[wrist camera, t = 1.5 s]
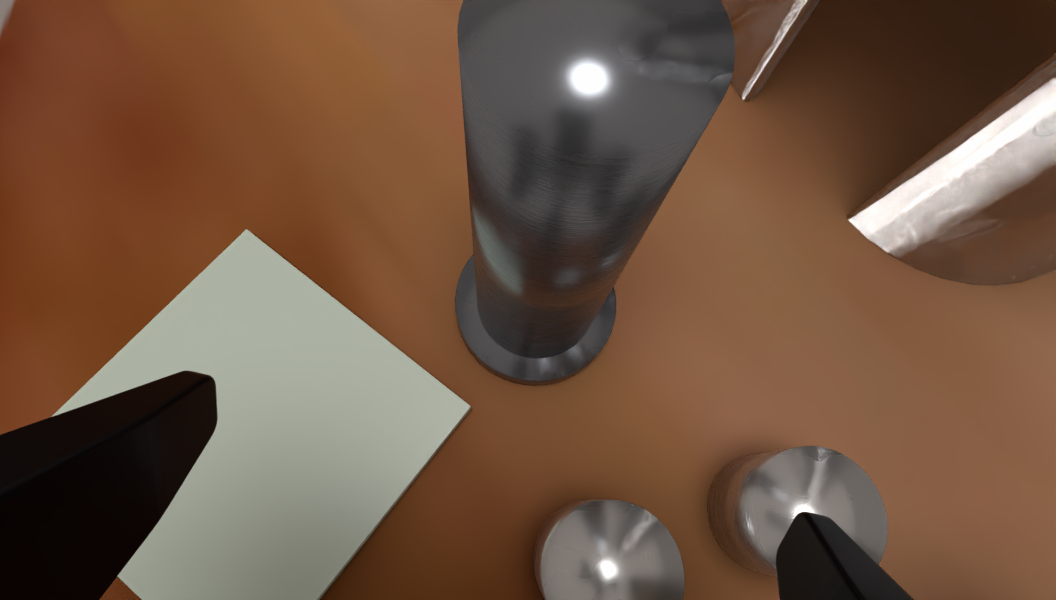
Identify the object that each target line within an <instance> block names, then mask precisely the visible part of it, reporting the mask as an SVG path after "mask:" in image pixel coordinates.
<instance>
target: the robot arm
mask: <svg viewBox="0 0 1056 600" xmlns="http://www.w3.org/2000/svg"><path fill="white" fill-rule="evenodd" d="M217 420H218V414H217V395H216V383H215V380H214V378H213V377H212V376H210V375H207V374H203V373H198V372H194V371H187V370H186V371H181V372H178V373H175V374H172V375H169V376H167V377H164V378H161V379H158V380H155V381H152V382H150V383H147V384H144V385H141V386H138V387H135V388H132V389H130V390H127V391H124V392H121V393H118V394H115V395H113V396H110V397H107V398H104V399H101V400H98V401H95V402H93V403H90V404H87V405H84V406H81V407H78V408H75V409H73V410H70V411H67V412H64V413H61V414H58V415H56V416H53V417H50V418H47V419H44V420H41V421H38V422H36V423H33V424H30V425H27V426H24V427H21V428H18V429H16V430H13V431H10V432H7V433H4V434H1V435H0V600H99V599H100V598H101V597H102V595H103V594H104V593H105V592H106V590H107V589H108V588H109V586H110V585H111V584H112V582H113V581H114V580H115V579H116V577H117V576H118V575H119V573H120V572H121V571H122V569H123V568H124V567H125V565H126V564H127V563H128V562H129V560H130V559H131V558H132V556H133V555H134V554H135V552H136V551H137V550H138V549H139V547H140V546H141V545H142V543H143V542H144V541H145V539H146V538H147V537H148V536H149V534H150V533H151V531H152V530H153V529H154V527H155V526H156V525H157V523H158V522H159V520H160V519H161V517H162V516H163V514H164V513H165V511H166V510H167V508H168V507H169V505H170V503H171V502H172V500H173V499H174V497H175V495H176V494H177V492H178V490H179V489H180V487H181V486H182V484H183V482H184V481H185V479H186V477H187V476H188V474H189V473H190V471H191V469H192V468H193V466H194V464H195V463H196V461H197V460H198V458H199V456H200V455H201V453H202V451H203V450H204V448H205V447H206V445H207V443H208V442H209V440H210V438H211V437H212V435H213V433H214V431H215V429H216V425H217ZM776 570H777V579H778V587H779V596H780V600H914V599H913V598H912V597H911V596H910V595H909V594H908V593H907V592H906V591H905V590H904V589H902V588H901V587H900V586H899V585H898V584H897V583H896V582H895V581H894V580H893V579H892V578H891V577H890V576H889V575H888V574H887V573H886V572H885V571H884V570H883V569H882V568H881V567H880V566H879V565H878V564H877V563H876V562H875V561H874V560H873V559H872V558H871V557H870V556H869V555H868V554H867V553H866V552H865V551H864V550H863V549H862V548H861V547H860V546H859V545H858V544H857V543H856V542H854V541H853V540H852V539H851V538H850V537H849V536H848V535H847V534H846V533H845V532H844V531H843V530H842V529H841V528H840V527H839V526H838V525H837V524H836V523H835V522H834V521H833V520H832V519H831V518H829V517H827V516H824V515H819V514H815V513H811V512H806V511H804V512H800V513H798V514H797V515H796V516H795V518H794V520H793V521H792V523H791V525H790V527H789V529H788V530H787V532H786V534H785V536H784V538H783V539H782V541H781V543H780V545H779V547H778V550H777V553H776Z"/></svg>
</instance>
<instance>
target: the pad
mask: <svg viewBox="0 0 1056 600" xmlns="http://www.w3.org/2000/svg"><path fill="white" fill-rule="evenodd" d="M186 370H187V371H194V372H198V373H203V374H207V375H210V376H212V377H213V378H214V380H215V383H216V395H217V414H218V420H217V425H216V429H215V431H214V433H213V435H212V437H211V438H210V440H209V442H208V443H207V445H206V447H205V448H204V450H203V451H202V453H201V455H200V456H199V458H198V460H197V461H196V463H195V464H194V466H193V468H192V469H191V471H190V473H189V474H188V476H187V477H186V479H185V481H184V482H183V484H182V486H181V487H180V489H179V490H178V492H177V494H176V495H175V497H174V499H173V500H172V502H171V503H170V505H169V507H168V508H167V510H166V511H165V513H164V514H163V516H162V517H161V519H160V520H159V522H158V523H157V525H156V526H155V527H154V529H153V530H152V531H151V533H150V534H149V536H148V537H147V538H146V539H145V541H144V542H143V543H142V545H141V546H140V547H139V549H138V550H137V551H136V552H135V554H134V555H133V556H132V558H131V559H130V560H129V562H128V563H127V564H126V565H125V567H124V568H123V569H122V571H121V572H120V573H119V575H118V576H117V577H119V578H120V579H121V580H122V581H123V582H124V583H125V584H126V585H127V586H128V587H129V588H130V589H131V590H132V591H133V592H134V593H135V594H136V595H138V596H139V597H140V598H141V599H142V600H320V599H321V597H322V596H323V595H324V594H325V592H326V591H327V590H328V589H329V587H330V586H331V585H332V584H333V582H334V581H335V580H336V578H337V577H338V576H339V575H340V573H341V572H342V571H343V570H344V568H345V567H346V566H347V565H348V563H349V562H350V561H351V560H352V558H353V557H354V556H355V555H356V553H357V552H358V551H359V550H360V548H361V547H362V546H363V544H364V543H365V542H366V541H367V539H368V538H369V537H370V536H371V534H372V533H373V532H374V531H375V529H376V528H377V527H378V526H379V524H380V523H381V522H382V521H383V519H384V518H385V517H386V516H387V514H388V513H389V512H390V510H391V509H392V508H393V507H394V505H395V504H396V503H397V502H398V500H399V499H400V498H401V497H402V495H403V494H404V493H405V492H406V490H407V489H408V488H409V487H410V485H411V484H412V483H413V482H414V480H415V479H416V478H417V476H418V475H419V474H420V473H421V471H422V470H423V469H424V468H425V466H426V465H427V464H428V463H429V461H430V460H431V459H432V458H433V456H434V455H435V454H436V453H437V451H438V450H439V449H440V448H441V446H442V445H443V444H444V442H445V441H446V440H447V439H448V437H449V436H450V435H451V434H452V432H453V431H454V430H455V429H456V427H457V426H458V425H459V424H460V422H461V421H462V420H463V419H464V417H465V416H466V415H467V414H468V412H469V411H470V410H471V406H470V405H468V404H467V403H466V402H465V401H463V400H462V399H461V398H459V397H458V396H457V395H456V394H454V393H453V392H452V391H451V390H449V389H448V388H447V387H446V386H444V385H443V384H442V383H440V382H439V381H438V380H437V379H435V378H434V377H433V376H432V375H430V374H429V373H428V372H427V371H425V370H424V369H423V368H422V367H420V366H419V365H418V364H416V363H415V362H414V361H413V360H411V359H410V358H409V357H408V356H406V355H405V354H404V353H403V352H401V351H400V350H399V349H397V348H396V347H395V346H394V345H392V344H391V343H390V342H389V341H387V340H386V339H385V338H384V337H382V336H381V335H380V334H378V333H377V332H376V331H375V330H373V329H372V328H371V327H370V326H368V325H367V324H366V323H365V322H363V321H362V320H361V319H360V318H358V317H357V316H356V315H354V314H353V313H352V312H351V311H349V310H348V309H347V308H346V307H344V306H343V305H342V304H341V303H339V302H338V301H337V300H335V299H334V298H333V297H332V296H330V295H329V294H328V293H327V292H325V291H324V290H323V289H322V288H320V287H319V286H318V285H316V284H315V283H314V282H313V281H311V280H310V279H309V278H308V277H306V276H305V275H304V274H303V273H301V272H300V271H299V270H298V269H296V268H295V267H294V266H292V265H291V264H290V263H289V262H287V261H286V260H285V259H284V258H282V257H281V256H280V255H279V254H277V253H276V252H275V251H273V250H272V249H271V248H270V247H268V246H267V245H266V244H265V243H263V242H262V241H261V240H260V239H258V238H257V237H256V236H254V235H253V234H252V233H251V232H249V231H248V230H247V229H246V230H245V231H244V232H243V233H242V234H241V235H240V236H239V237H238V238H237V239H236V240H235V241H234V242H233V243H232V244H231V245H230V246H229V247H228V248H226V249H225V250H224V251H223V252H222V253H221V254H220V255H219V256H218V257H217V258H216V259H215V260H214V261H213V262H212V263H211V264H210V265H209V266H208V267H207V268H206V269H205V270H204V271H203V272H202V273H200V274H199V275H198V276H197V277H196V278H195V279H194V280H193V281H192V282H191V283H190V284H189V285H188V286H187V287H186V288H185V289H184V290H183V291H182V292H181V293H180V294H179V295H178V296H177V297H176V298H174V299H173V300H172V301H171V302H170V303H169V304H168V305H167V306H166V307H165V308H164V309H163V310H162V311H161V312H160V313H159V314H158V315H157V316H156V317H155V318H154V319H153V320H152V321H151V322H150V323H148V324H147V325H146V326H145V327H144V328H143V329H142V330H141V331H140V332H139V333H138V334H137V335H136V336H135V337H134V338H133V339H132V340H131V341H130V342H129V343H128V344H127V345H126V346H125V347H124V348H123V349H121V350H120V351H119V352H118V353H117V354H116V355H115V356H114V357H113V358H112V359H111V360H110V361H109V362H108V363H107V364H106V365H105V366H104V367H103V368H102V369H101V370H100V371H99V372H98V373H97V374H95V375H94V376H93V377H92V378H91V379H90V380H89V381H88V382H87V383H86V384H85V385H84V386H83V387H82V388H81V389H80V390H79V391H78V392H77V393H76V394H75V395H74V396H73V397H72V398H71V399H69V400H68V401H67V402H66V403H65V404H64V405H63V406H62V407H61V408H60V409H59V410H58V411H57V412H56V413H55V414H54V415H53V416H56V415H58V414H61V413H64V412H67V411H70V410H73V409H75V408H78V407H81V406H84V405H87V404H90V403H93V402H95V401H98V400H101V399H104V398H107V397H110V396H113V395H115V394H118V393H121V392H124V391H127V390H130V389H132V388H135V387H138V386H141V385H144V384H147V383H150V382H152V381H155V380H158V379H161V378H164V377H167V376H169V375H172V374H175V373H178V372H181V371H186ZM53 416H52V417H53Z"/></svg>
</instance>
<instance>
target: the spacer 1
mask: <svg viewBox="0 0 1056 600" xmlns="http://www.w3.org/2000/svg"><path fill="white" fill-rule="evenodd" d="M533 565H534V573H535V578H536V581H537V584H538V587H539V589H540V591H541V594H542V595H543V597H544V599H545V600H682V599H683V594H684V569H683V563H682V559H681V555H680V552H679V550H678V547H677V545H676V543H675V541H674V539H673V537H672V536H671V534H670V533H669V531H668V530H667V528H666V527H665V526H664V525H663V524H662V523H661V521H660V520H658V519H657V518H656V517H655V516H654V515H653V514H651V513H650V512H648V511H647V510H645V509H643V508H641V507H639V506H637V505H635V504H632V503H629V502H625V501H620V500H601V499H584V500H578V501H574V502H571V503H569V504H567V505H565V506H563V507H561V508H560V509H558V510H557V511H556V512H554V513H553V514H552V515H551V516H550V517H549V518H548V520H547V521H546V522H545V524H544V525H543V527H542V529H541V530H540V533H539V535H538V537H537V540H536V544H535V548H534V557H533Z"/></svg>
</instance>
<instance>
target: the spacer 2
mask: <svg viewBox="0 0 1056 600" xmlns="http://www.w3.org/2000/svg"><path fill="white" fill-rule="evenodd" d="M804 511H806V512H811V513H815V514H819V515H824V516H827V517H829V518H831V519H832V520H833V521H834V522H835V523H836V524H837V525H838V526H839V527H840V528H841V529H842V530H843V531H844V532H845V533H846V534H847V535H848V536H849V537H850V538H851V539H852V540H853V541H854V542H856V543H857V544H858V545H859V546H860V547H861V548H862V549H863V550H864V551H865V552H866V553H867V554H868V555H869V556H870V557H871V558H872V559H873V560H874V561H875V562H876V563H877V564H879V562H880V561H881V559H882V556H883V554H884V551H885V547H886V543H887V535H888V524H887V515H886V511H885V507H884V504H883V501H882V498H881V496H880V494H879V492H878V490H877V488H876V486H875V485H874V483H873V482H872V480H871V479H870V477H869V476H868V475H867V474H866V472H865V471H864V470H863V469H862V468H861V467H860V466H859V465H857V464H856V463H855V462H854V461H852V460H851V459H849V458H848V457H846V456H845V455H843V454H841V453H839V452H837V451H834V450H831V449H828V448H824V447H819V446H803V447H796V448H790V449H784V450H777V451H771V452H765V453H759V454H752V455H747V456H742V457H739V458H737V459H734V460H733V461H731V462H729V463H728V464H727V465H725V466H724V467H723V468H722V469H721V470H720V471H719V473H718V474H717V475H716V477H715V479H714V480H713V482H712V485H711V487H710V490H709V495H708V502H707V513H708V519H709V523H710V527H711V530H712V532H713V535H714V537H715V539H716V541H717V542H718V544H719V545H720V547H721V548H722V550H723V551H724V552H725V553H726V554H727V555H728V556H729V557H730V558H731V559H732V560H734V561H735V562H736V563H738V564H739V565H741V566H743V567H745V568H747V569H749V570H752V571H755V572H758V573H762V574H765V575H769V576H773V577H776V578H777V570H776V553H777V550H778V547H779V545H780V543H781V541H782V539H783V538H784V536H785V534H786V532H787V530H788V529H789V527H790V525H791V523H792V521H793V520H794V518H795V516H796V515H797V514H798V513H800V512H804Z"/></svg>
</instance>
